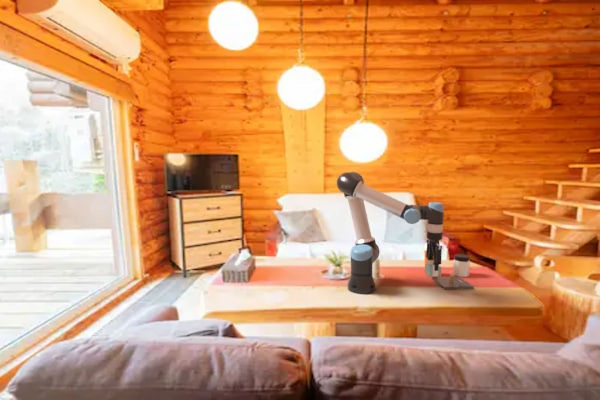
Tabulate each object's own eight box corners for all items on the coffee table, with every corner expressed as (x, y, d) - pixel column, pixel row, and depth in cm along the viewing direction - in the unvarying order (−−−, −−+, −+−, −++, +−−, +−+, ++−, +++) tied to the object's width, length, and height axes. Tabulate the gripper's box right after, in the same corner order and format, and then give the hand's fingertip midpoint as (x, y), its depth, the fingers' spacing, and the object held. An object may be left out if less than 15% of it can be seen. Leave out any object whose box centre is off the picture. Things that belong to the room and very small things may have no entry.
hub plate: (444, 289, 175) (444, 279, 175) (431, 279, 191) (432, 270, 191) (473, 289, 176) (474, 279, 175) (458, 279, 192) (459, 269, 191)
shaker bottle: (436, 278, 193) (437, 245, 191) (421, 275, 198) (422, 243, 196) (440, 274, 200) (441, 242, 198) (425, 271, 206) (426, 240, 204)
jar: (465, 278, 193) (466, 258, 191) (451, 275, 198) (452, 256, 197) (470, 274, 199) (471, 255, 197) (457, 271, 205) (457, 253, 203)
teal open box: (429, 276, 172) (430, 266, 171) (425, 272, 178) (425, 263, 177) (440, 276, 172) (441, 266, 171) (435, 272, 178) (436, 263, 177)
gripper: (450, 235, 163) (447, 280, 165) (434, 228, 182) (432, 268, 184) (435, 235, 163) (433, 280, 165) (420, 228, 181) (418, 268, 184)
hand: (432, 273), depth 175 cm, fingers closed on teal open box, 6 cm apart
